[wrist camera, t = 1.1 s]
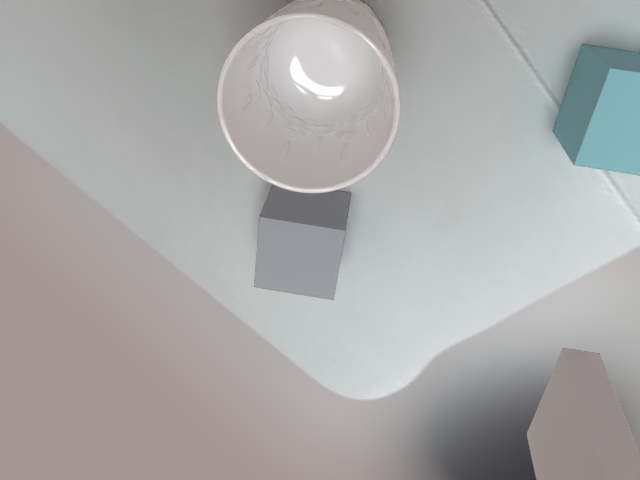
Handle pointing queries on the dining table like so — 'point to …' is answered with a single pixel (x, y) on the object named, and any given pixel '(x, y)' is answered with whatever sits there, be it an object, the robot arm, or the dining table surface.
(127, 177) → the dining table surface
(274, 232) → the slate grey block
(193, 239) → the dining table surface
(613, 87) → the dusty teal block
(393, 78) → the white cup
